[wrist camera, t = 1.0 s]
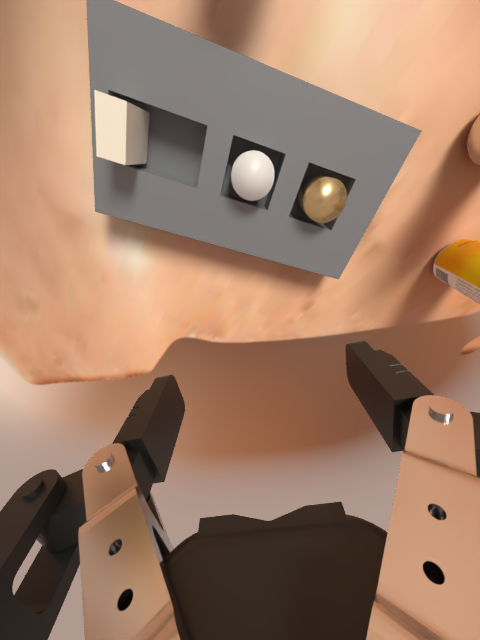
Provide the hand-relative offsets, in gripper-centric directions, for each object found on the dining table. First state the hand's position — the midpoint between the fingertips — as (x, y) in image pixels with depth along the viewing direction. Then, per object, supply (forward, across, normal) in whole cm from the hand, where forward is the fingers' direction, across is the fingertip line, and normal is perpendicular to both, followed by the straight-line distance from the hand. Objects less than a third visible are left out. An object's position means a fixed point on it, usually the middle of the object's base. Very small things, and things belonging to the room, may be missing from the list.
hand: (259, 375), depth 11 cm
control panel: (+23, -2, -11) cm, 26 cm away
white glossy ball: (+21, -2, -11) cm, 24 cm away
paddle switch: (+21, +9, -17) cm, 28 cm away
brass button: (+22, -9, -7) cm, 25 cm away
